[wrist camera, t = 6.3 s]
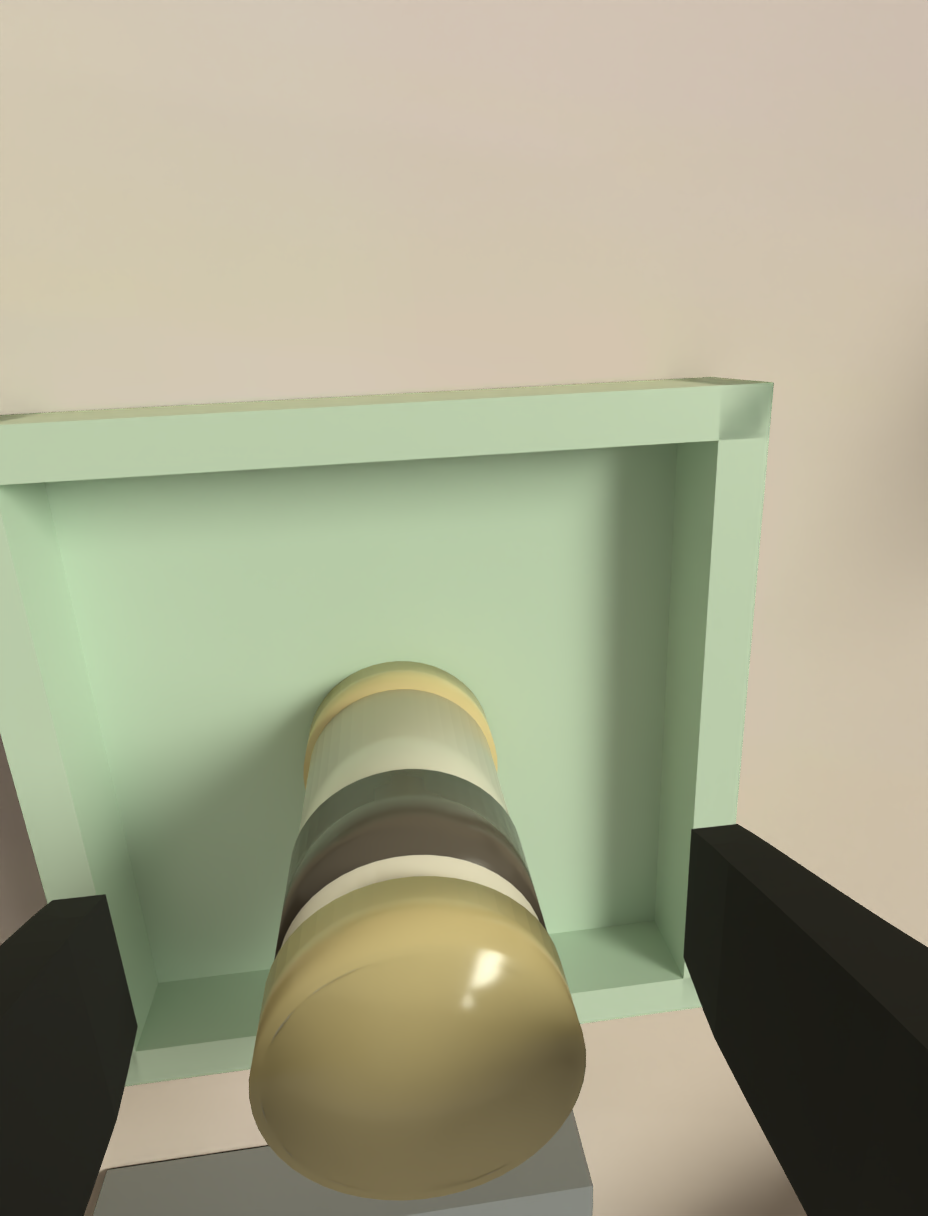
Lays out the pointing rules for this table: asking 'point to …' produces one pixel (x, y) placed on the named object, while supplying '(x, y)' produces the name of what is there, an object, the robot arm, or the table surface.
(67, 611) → the parts tray
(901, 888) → the table surface
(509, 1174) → the fuse block
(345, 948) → the banded cream cylinder
